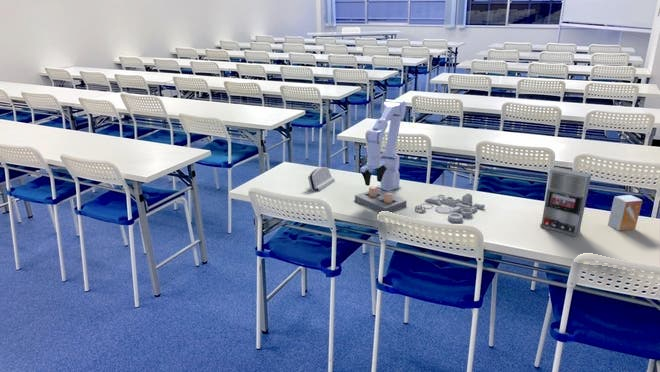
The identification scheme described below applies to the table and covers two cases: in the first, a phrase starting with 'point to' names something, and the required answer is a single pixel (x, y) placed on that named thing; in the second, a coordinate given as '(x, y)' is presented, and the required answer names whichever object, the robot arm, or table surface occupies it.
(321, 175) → the hinge
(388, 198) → the fitted pink peg
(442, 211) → the robot parts
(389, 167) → the robot arm
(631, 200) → the small box
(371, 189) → the pink rounded capsule
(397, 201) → the housing
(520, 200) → the table surface
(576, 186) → the cassette tape recorder
